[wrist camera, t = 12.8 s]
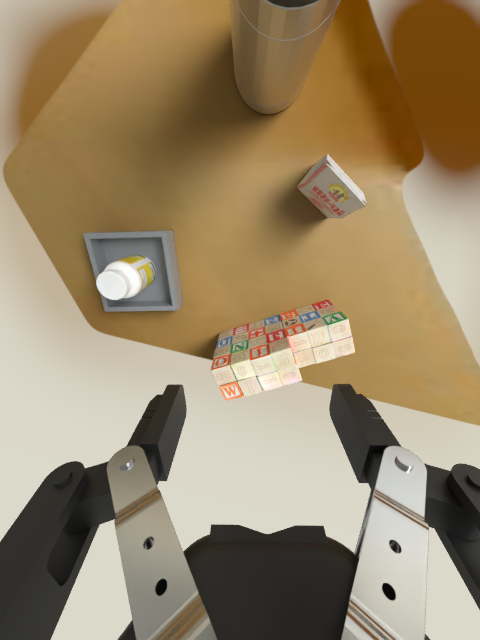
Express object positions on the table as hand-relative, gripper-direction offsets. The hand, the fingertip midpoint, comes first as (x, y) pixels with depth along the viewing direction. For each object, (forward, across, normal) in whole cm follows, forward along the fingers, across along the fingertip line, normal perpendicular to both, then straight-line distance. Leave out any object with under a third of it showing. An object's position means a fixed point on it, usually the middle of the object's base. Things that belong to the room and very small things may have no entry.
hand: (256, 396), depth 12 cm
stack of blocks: (+30, -5, +11) cm, 33 cm away
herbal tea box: (+30, -11, -12) cm, 34 cm away
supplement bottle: (+30, +18, -1) cm, 35 cm away
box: (+30, +18, -1) cm, 35 cm away
